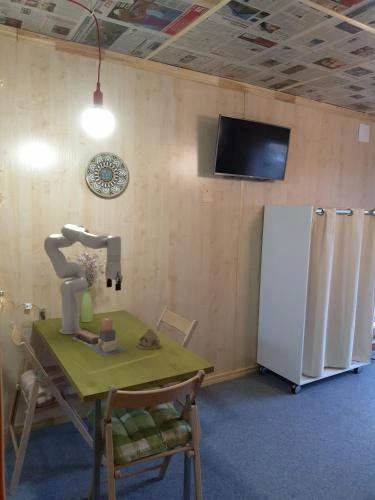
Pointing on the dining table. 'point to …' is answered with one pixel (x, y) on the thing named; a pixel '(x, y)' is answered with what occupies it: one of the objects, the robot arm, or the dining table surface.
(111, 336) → the charcoal block
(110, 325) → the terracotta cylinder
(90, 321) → the dining table surface
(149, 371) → the dining table surface
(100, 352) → the slate mat
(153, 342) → the stuffed bread roll
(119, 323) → the dining table surface
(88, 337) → the packaged product
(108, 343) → the birch block
